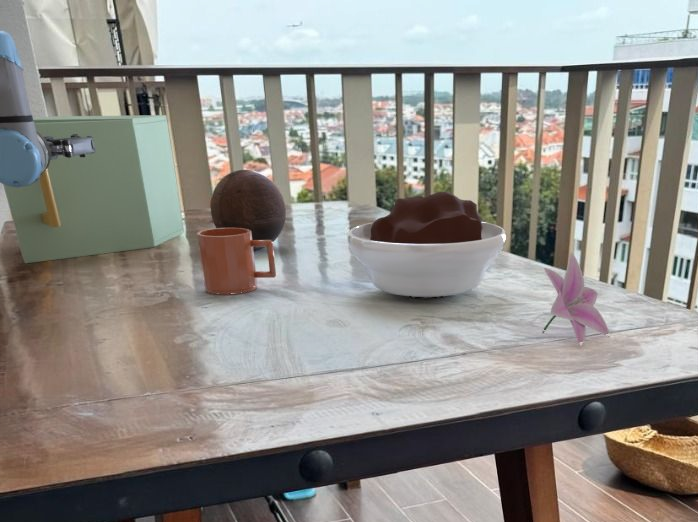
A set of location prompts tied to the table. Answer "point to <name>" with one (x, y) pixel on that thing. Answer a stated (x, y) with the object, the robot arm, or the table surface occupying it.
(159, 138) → the cupboard
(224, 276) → the mug
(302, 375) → the table surface
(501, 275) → the table surface
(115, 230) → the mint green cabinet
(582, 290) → the lily
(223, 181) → the wooden sphere
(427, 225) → the filled white bowl
